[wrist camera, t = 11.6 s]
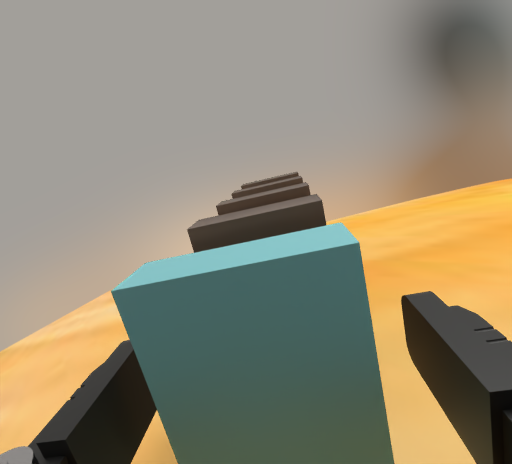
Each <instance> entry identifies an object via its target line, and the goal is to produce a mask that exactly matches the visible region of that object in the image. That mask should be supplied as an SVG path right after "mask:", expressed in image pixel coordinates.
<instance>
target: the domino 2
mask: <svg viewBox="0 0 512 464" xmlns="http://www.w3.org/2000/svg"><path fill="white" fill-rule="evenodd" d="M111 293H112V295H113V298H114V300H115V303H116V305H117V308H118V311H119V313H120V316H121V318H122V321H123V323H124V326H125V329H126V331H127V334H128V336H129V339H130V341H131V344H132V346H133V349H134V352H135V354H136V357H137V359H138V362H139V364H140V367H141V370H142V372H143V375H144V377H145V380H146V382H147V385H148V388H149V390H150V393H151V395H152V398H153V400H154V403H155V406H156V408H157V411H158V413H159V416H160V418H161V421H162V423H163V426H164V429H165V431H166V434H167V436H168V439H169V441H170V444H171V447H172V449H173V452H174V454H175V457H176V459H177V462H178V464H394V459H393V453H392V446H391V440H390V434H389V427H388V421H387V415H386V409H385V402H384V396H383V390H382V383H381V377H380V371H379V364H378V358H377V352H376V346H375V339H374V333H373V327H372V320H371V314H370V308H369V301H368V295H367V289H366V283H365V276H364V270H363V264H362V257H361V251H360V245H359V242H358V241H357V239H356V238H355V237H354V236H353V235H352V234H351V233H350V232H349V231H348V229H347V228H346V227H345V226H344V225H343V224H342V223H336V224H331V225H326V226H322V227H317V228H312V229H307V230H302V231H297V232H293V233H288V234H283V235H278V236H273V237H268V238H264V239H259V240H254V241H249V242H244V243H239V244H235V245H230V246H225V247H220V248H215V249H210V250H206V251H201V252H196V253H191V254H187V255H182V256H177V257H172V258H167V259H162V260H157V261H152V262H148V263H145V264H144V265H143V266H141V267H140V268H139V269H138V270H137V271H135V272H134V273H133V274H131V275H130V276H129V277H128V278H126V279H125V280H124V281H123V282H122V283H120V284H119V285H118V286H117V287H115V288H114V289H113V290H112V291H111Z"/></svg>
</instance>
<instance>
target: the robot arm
mask: <svg viewBox="0 0 512 464" xmlns="http://www.w3.org/2000/svg"><path fill="white" fill-rule="evenodd" d="M401 303H402V311H403V319H404V327H405V335H406V342H407V347H408V351H409V354H410V356H411V359H412V361H413V363H414V365H415V367H416V368H417V370H418V371H419V373H420V374H421V376H422V378H423V379H424V381H425V382H426V384H427V386H428V387H429V389H430V390H431V392H432V393H433V395H434V397H435V398H436V400H437V401H438V403H439V405H440V406H441V408H442V409H443V411H444V412H445V414H446V416H447V417H448V419H449V420H450V422H451V424H452V425H453V427H454V428H455V430H456V431H457V433H458V435H459V436H460V438H461V439H462V441H463V443H464V444H465V446H466V447H467V449H468V451H469V452H470V454H471V455H472V457H473V458H474V460H475V462H476V463H477V464H512V342H511V341H508V340H507V338H506V337H505V336H504V335H502V334H501V333H500V332H499V331H498V330H496V329H495V330H494V328H493V326H491V325H490V324H489V323H488V322H487V321H485V320H484V319H483V318H482V317H480V316H479V315H478V314H476V313H474V312H471V311H469V310H467V309H464V308H462V307H460V306H450V307H448V306H447V305H446V304H445V303H444V302H443V301H442V300H441V299H439V298H438V297H437V296H436V295H435V294H434V293H433V292H431V291H428V292H422V293H416V294H410V295H404V296H402V299H401ZM70 398H71V399H70V400H68V401H67V402H66V403H65V404H64V405H63V406H62V408H61V409H60V410H59V411H58V412H57V413H56V415H55V416H54V417H53V418H52V419H51V420H50V421H49V423H48V424H47V425H46V426H45V427H44V428H43V430H42V431H41V432H40V433H39V434H38V435H37V437H36V438H35V439H34V440H33V441H32V442H31V443H30V445H29V446H28V447H25V446H23V447H17V448H14V449H11V450H9V451H7V452H5V453H3V454H1V455H0V464H131V462H132V460H133V458H134V455H135V453H136V451H137V449H138V447H139V445H140V443H141V441H142V439H143V437H144V435H145V433H146V431H147V429H148V427H149V425H150V423H151V421H152V418H153V416H154V414H155V412H156V410H157V408H156V406H155V403H154V400H153V398H152V395H151V393H150V390H149V388H148V385H147V382H146V380H145V377H144V375H143V372H142V370H141V367H140V364H139V362H138V359H137V357H136V354H135V352H134V349H133V346H132V344H131V341H130V340H127V341H123V342H122V343H121V344H120V345H119V346H118V347H117V348H116V349H115V351H114V352H113V353H112V354H111V355H110V357H109V358H108V359H107V360H106V361H105V362H104V363H103V364H102V365H100V366H99V367H98V368H97V369H95V370H94V371H93V372H92V373H91V374H90V375H89V376H88V378H87V379H86V380H85V381H84V382H83V383H82V385H81V388H78V389H77V390H76V391H75V393H74V394H73V395H72V396H71V397H70Z"/></svg>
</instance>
